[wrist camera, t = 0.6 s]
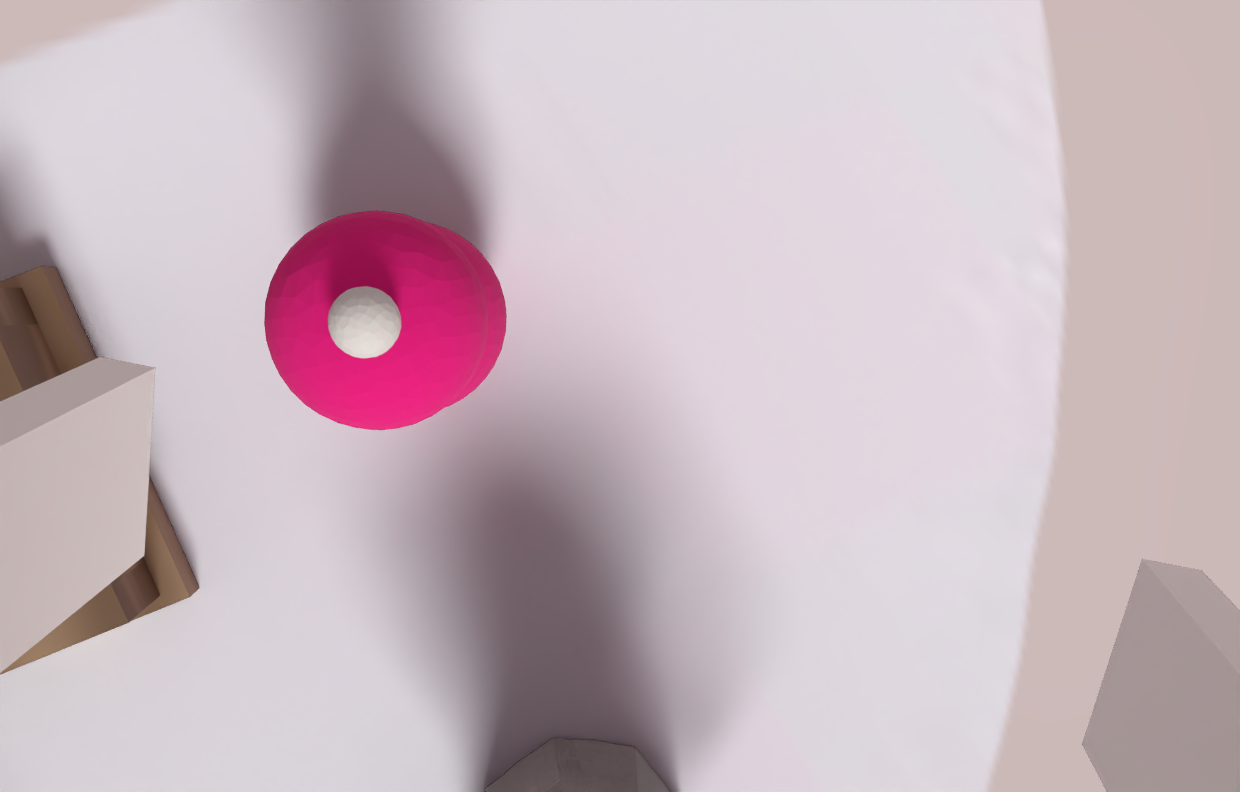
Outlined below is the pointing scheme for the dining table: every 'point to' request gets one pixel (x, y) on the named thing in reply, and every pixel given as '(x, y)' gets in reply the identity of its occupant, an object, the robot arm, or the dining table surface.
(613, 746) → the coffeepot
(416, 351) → the pepper mill
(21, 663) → the wooden divided tray
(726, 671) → the dining table surface
